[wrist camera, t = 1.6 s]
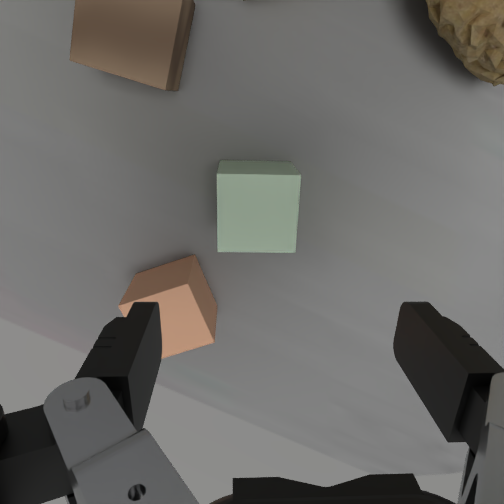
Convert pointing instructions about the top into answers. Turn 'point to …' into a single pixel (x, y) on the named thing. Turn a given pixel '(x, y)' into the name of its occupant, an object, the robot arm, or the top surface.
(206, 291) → the terracotta block
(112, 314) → the top surface
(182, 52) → the walnut block
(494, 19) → the sponge
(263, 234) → the sage block
